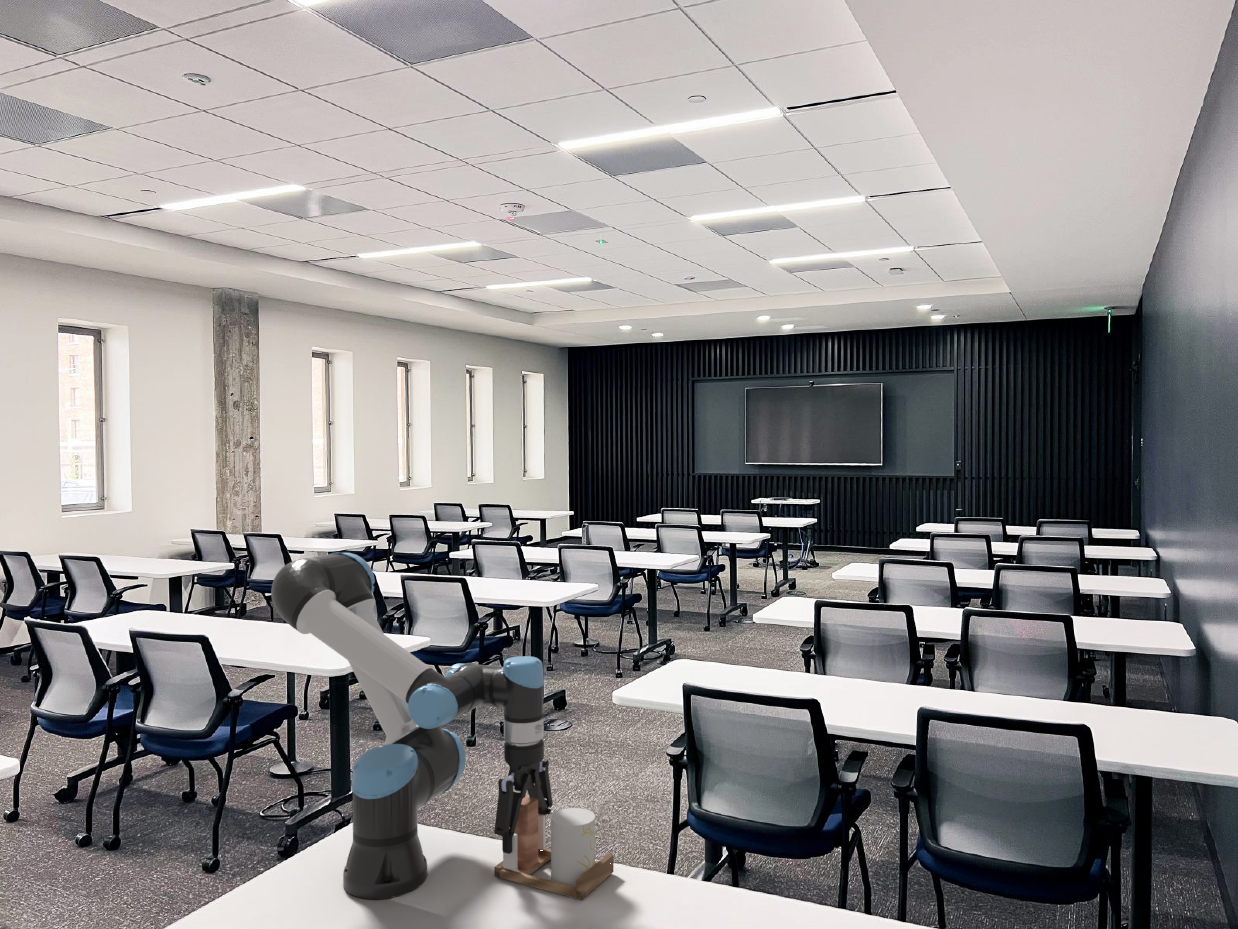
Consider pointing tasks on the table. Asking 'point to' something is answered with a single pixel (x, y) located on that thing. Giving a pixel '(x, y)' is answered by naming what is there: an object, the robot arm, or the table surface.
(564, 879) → the cup
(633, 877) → the table surface
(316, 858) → the table surface
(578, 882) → the sled
